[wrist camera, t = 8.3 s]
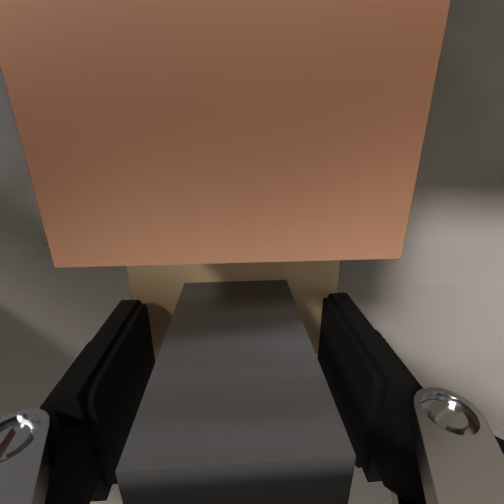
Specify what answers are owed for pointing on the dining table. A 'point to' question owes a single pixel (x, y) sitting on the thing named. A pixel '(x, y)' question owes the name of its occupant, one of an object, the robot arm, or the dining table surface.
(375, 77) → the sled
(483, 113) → the dining table surface
